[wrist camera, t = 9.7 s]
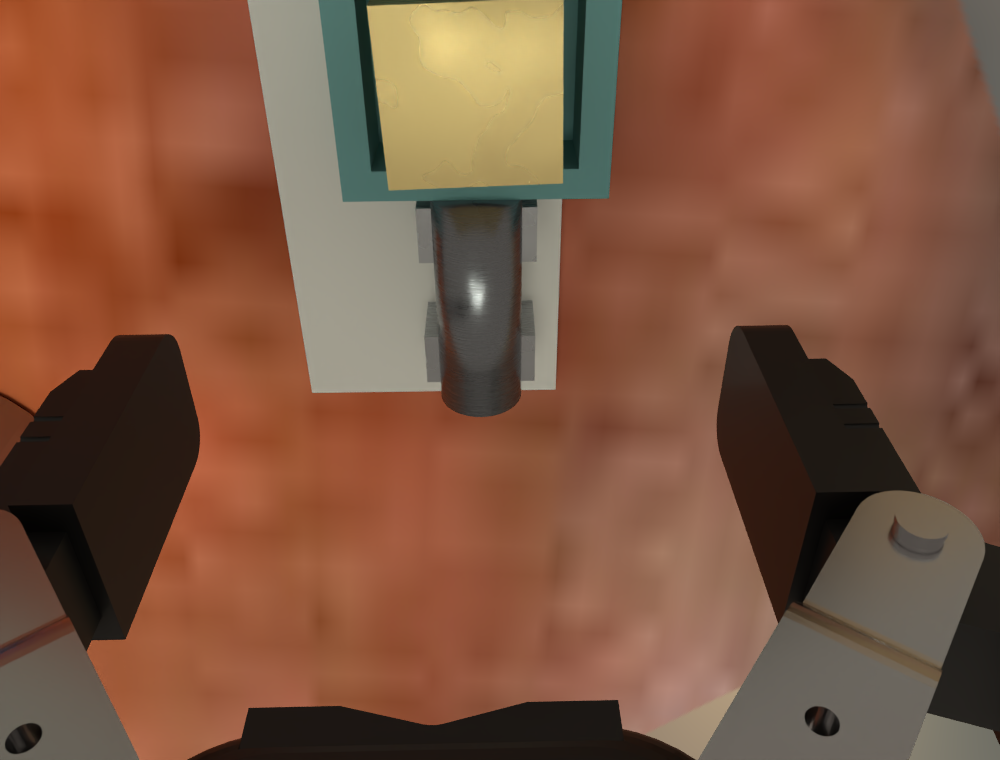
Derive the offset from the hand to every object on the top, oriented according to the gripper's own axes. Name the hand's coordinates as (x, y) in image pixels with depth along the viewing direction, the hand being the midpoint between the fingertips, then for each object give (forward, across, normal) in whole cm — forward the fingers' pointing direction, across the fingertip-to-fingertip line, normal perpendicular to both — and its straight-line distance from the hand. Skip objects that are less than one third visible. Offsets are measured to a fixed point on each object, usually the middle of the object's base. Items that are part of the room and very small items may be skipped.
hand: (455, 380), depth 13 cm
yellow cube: (+18, 0, 0) cm, 18 cm away
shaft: (+19, 0, +8) cm, 20 cm away
